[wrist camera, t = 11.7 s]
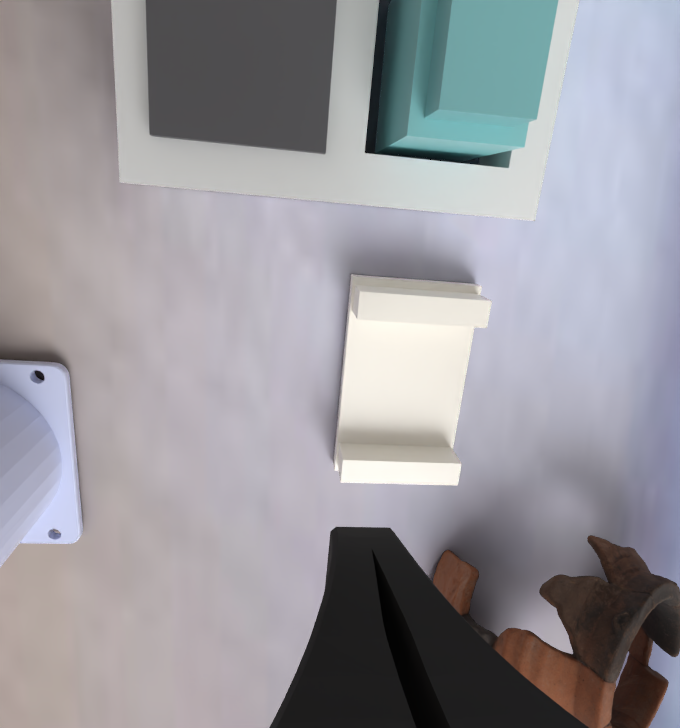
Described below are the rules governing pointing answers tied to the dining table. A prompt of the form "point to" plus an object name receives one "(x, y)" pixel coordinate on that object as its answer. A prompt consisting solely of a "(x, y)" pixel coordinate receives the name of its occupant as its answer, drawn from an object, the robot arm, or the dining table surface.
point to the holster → (404, 379)
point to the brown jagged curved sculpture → (589, 636)
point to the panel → (295, 108)
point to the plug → (462, 76)
